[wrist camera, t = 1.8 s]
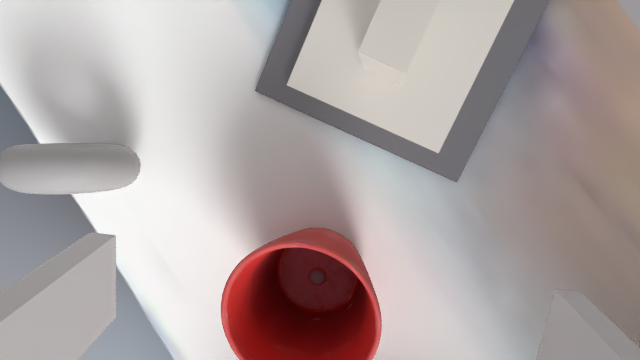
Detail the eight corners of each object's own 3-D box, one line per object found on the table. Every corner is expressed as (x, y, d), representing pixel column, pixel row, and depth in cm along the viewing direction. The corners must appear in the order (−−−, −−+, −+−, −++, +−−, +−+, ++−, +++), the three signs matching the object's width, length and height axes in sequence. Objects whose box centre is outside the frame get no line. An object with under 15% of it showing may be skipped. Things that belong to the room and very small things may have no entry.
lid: (514, -6, 34) (572, -59, 24) (436, 152, 36) (459, 165, 26) (355, -73, 34) (346, -152, 24) (289, 86, 37) (256, 74, 27)
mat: (552, -10, 34) (555, -13, 33) (455, 181, 37) (456, 182, 36) (334, -102, 35) (334, -106, 34) (256, 91, 38) (254, 90, 37)
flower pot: (306, 351, 40) (285, 424, 31) (234, 253, 40) (189, 296, 30) (405, 289, 38) (414, 346, 29) (330, 185, 38) (314, 208, 28)
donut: (162, 142, 39) (90, 151, 30) (163, 181, 40) (93, 202, 30) (57, 139, 41) (-46, 146, 31) (59, 177, 41) (-41, 196, 31)
